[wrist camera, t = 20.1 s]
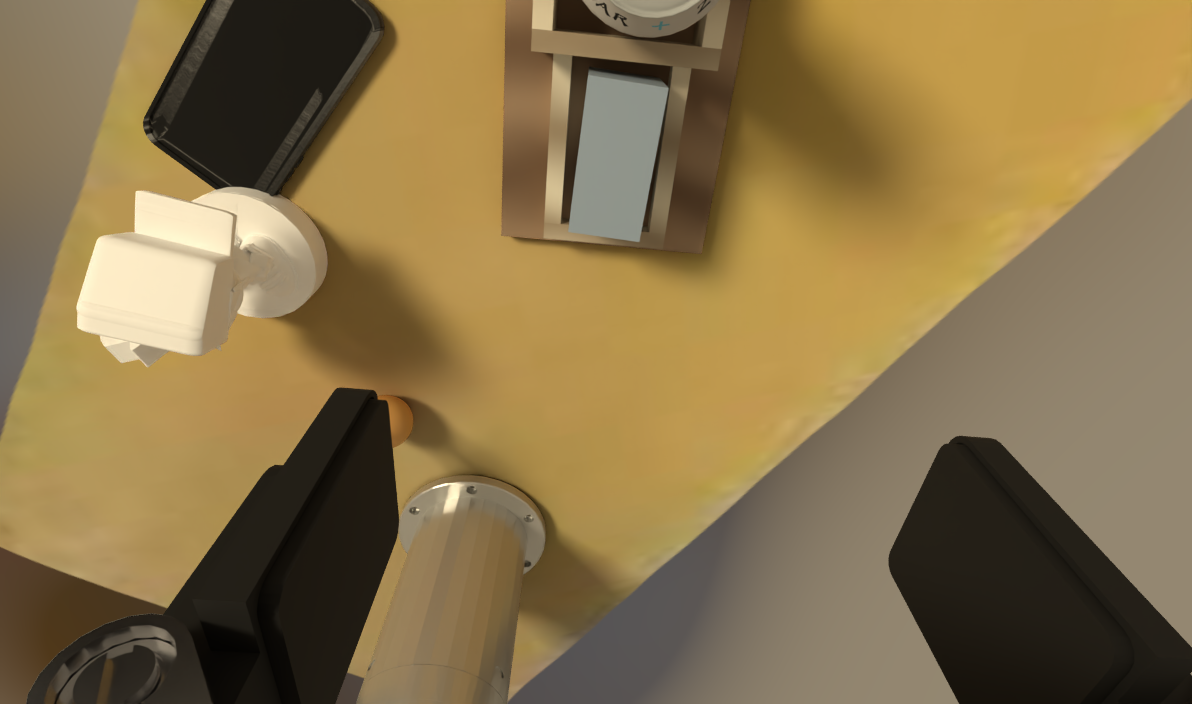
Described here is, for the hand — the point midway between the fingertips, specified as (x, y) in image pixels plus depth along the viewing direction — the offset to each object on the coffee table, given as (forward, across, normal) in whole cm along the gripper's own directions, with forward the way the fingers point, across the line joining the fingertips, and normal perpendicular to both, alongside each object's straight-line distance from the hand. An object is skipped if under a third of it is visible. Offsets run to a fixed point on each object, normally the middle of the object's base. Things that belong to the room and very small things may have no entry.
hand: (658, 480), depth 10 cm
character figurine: (+31, +22, +8) cm, 39 cm away
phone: (+31, +20, -2) cm, 37 cm away
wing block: (+29, 0, 0) cm, 29 cm away
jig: (+30, 0, -4) cm, 31 cm away
